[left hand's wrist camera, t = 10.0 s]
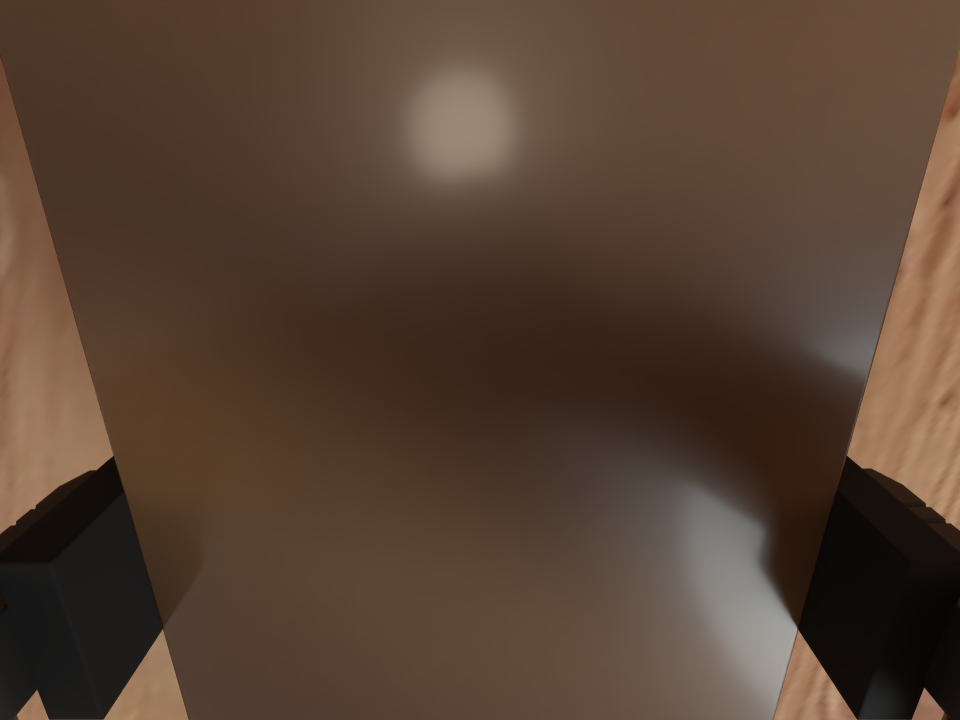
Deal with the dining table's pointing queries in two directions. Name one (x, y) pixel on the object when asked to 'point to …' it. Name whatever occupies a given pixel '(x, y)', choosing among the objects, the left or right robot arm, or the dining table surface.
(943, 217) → the dining table surface
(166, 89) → the cabinet
